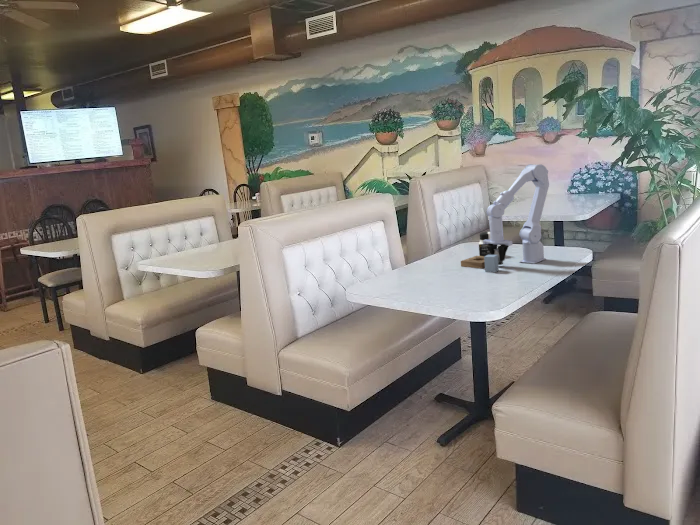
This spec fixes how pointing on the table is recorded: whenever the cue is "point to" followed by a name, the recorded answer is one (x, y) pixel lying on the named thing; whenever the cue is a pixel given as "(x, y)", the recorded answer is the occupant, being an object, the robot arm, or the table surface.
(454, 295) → the table surface
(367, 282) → the table surface
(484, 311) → the table surface
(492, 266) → the square peg
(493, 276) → the table surface
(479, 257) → the bore block
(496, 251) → the round peg
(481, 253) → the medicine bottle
